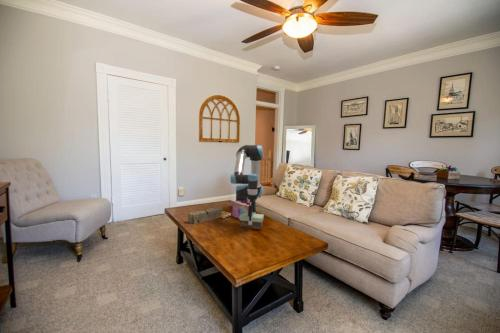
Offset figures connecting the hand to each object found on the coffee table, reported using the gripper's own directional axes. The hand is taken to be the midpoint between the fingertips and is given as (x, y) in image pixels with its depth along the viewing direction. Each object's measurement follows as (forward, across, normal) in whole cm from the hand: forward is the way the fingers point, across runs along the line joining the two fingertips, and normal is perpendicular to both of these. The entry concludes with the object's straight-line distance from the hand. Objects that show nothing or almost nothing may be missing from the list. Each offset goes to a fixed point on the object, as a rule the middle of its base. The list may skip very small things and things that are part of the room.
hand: (251, 222), depth 174 cm
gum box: (+4, -18, -11) cm, 21 cm away
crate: (+4, 0, 0) cm, 4 cm away
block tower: (+4, -6, -41) cm, 42 cm away
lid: (-2, 0, 0) cm, 2 cm away
